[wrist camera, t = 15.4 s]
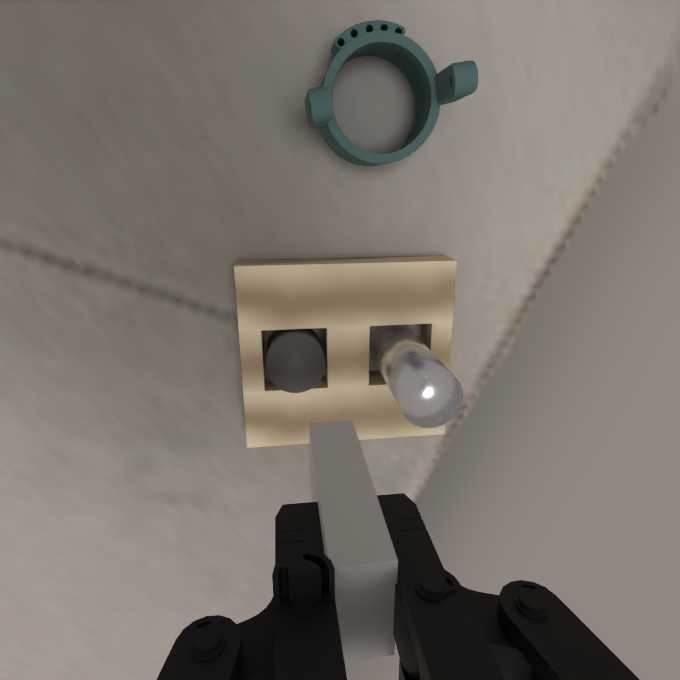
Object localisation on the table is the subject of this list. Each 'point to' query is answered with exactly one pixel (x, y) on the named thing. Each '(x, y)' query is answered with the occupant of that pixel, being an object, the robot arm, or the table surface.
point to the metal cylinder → (415, 376)
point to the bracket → (418, 70)
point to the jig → (333, 340)
